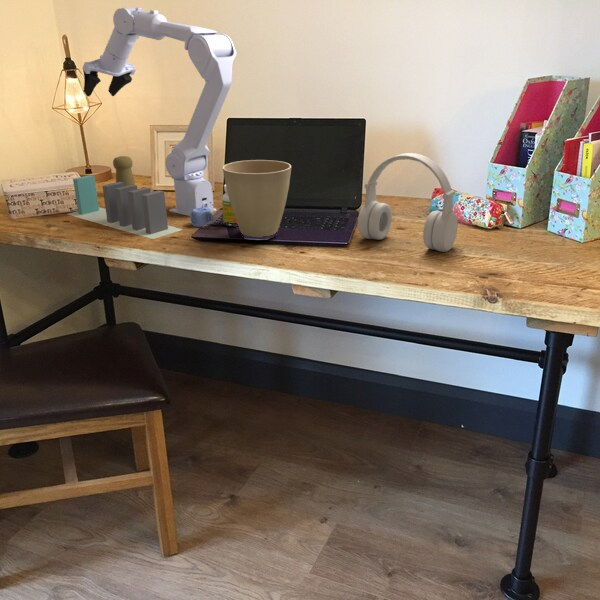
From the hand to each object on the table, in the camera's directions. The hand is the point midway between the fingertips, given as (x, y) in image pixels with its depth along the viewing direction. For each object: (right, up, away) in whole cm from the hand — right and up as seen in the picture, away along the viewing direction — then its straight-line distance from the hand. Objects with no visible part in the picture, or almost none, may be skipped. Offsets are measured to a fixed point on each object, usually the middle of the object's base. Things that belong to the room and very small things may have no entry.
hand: (99, 93), depth 173 cm
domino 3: (+12, -36, -14) cm, 40 cm away
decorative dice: (+29, -37, -15) cm, 49 cm away
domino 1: (-2, -32, -3) cm, 32 cm away
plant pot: (+44, -40, -24) cm, 64 cm away
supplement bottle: (+37, -36, -15) cm, 54 cm away
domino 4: (+16, -37, -17) cm, 44 cm away
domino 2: (+8, -35, -11) cm, 37 cm away
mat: (+9, -35, -12) cm, 38 cm away
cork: (+4, -25, +13) cm, 28 cm away
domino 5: (+20, -38, -20) cm, 47 cm away
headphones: (+76, -42, -31) cm, 92 cm away
